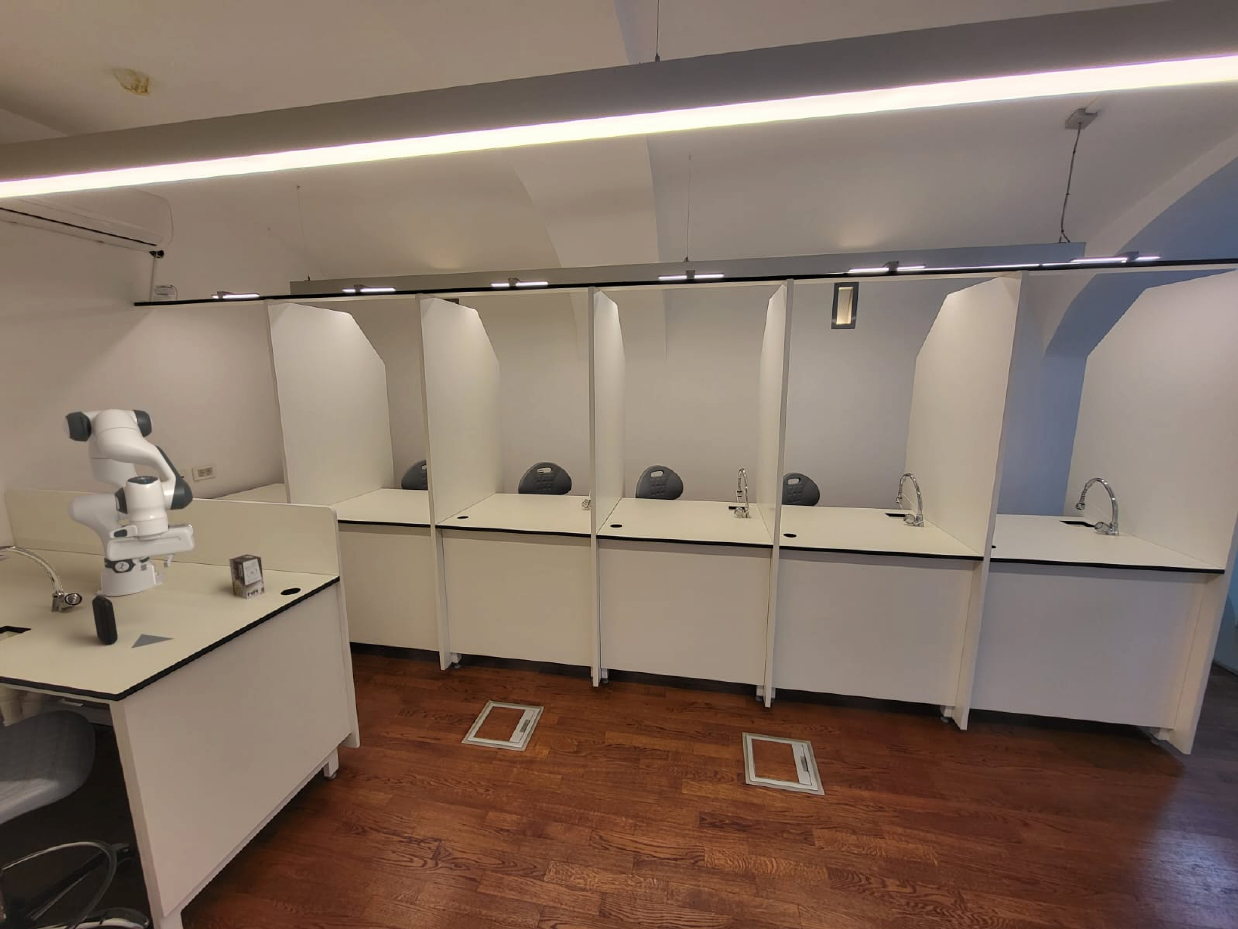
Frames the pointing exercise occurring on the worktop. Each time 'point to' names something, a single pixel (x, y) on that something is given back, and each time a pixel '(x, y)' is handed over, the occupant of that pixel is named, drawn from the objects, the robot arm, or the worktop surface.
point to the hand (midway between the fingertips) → (155, 568)
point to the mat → (149, 640)
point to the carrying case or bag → (104, 620)
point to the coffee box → (247, 576)
